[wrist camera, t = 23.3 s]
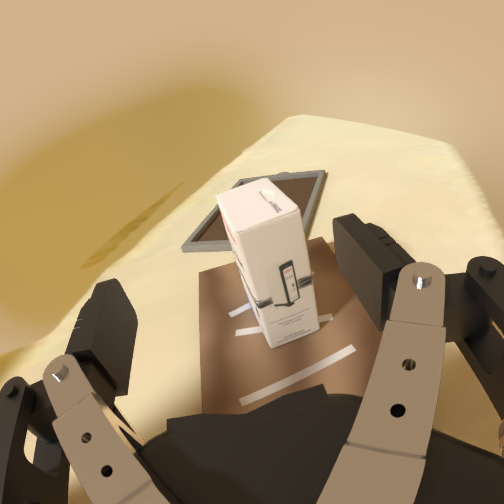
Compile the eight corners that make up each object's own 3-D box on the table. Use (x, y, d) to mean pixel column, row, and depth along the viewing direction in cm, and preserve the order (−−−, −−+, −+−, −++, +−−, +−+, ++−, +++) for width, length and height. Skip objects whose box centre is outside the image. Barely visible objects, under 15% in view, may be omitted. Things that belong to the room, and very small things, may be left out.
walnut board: (217, 485, 18) (207, 478, 17) (204, 284, 41) (198, 272, 40) (426, 421, 18) (432, 409, 17) (323, 249, 41) (321, 236, 40)
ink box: (245, 295, 34) (211, 192, 28) (289, 278, 34) (264, 174, 28) (270, 351, 26) (230, 231, 20) (323, 330, 27) (302, 206, 21)
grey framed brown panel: (180, 247, 49) (243, 174, 72) (183, 255, 50) (245, 180, 73) (300, 241, 42) (326, 165, 65) (302, 252, 43) (327, 172, 66)
